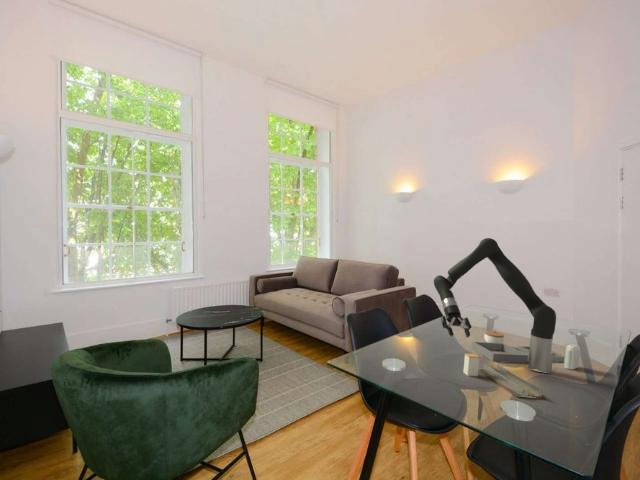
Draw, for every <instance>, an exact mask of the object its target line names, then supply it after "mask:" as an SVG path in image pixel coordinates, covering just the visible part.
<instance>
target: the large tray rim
mask: <svg viewBox="0 0 640 480" xmlns="http://www.w3.org/2000/svg"><path fill="white" fill-rule="evenodd" d="M471 349H472V350H473V351H475V352H477V353H479V354H481V355H482V356H484V357H486V358H487V359H489V360H490V361H492V362H500V361H506V362H505V363H520V362H528V360H529V356H528V355H526V354H524V353H522V352H520V351H519V349H515V348H514V347H512V346H510V345H507V344H505V343H504V342H503V343H488V342H486V341H472V342H471ZM493 351H501V352H502V351H503V352H504V353H499V352H498V353H497V352H493Z"/></svg>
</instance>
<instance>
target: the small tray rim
mask: <svg viewBox="0 0 640 480" xmlns="http://www.w3.org/2000/svg"><path fill="white" fill-rule="evenodd" d="M529 349H530V345H529V346H526V345H519V346H518V351H520V352H522V353H524V354H526V355H528V357H529ZM551 353H552V354H553V361H552V363H553V362H554V363H555V362H556V363H564V359H565V355H563V354H559V353H558V352H555V351H553V350H552V351H551Z"/></svg>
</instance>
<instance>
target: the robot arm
mask: <svg viewBox="0 0 640 480" xmlns="http://www.w3.org/2000/svg"><path fill="white" fill-rule="evenodd" d="M486 258H487V259H488V260H489V261H490V262H491V263H492V264H493V265H494V267H495V269H496V270H497V272H498V274H499V275H500V277H501V278H502V279H503V281H504V282H505V284H506V285H507V286H508V287H509V288H510V289H511V291H512V292H513V293H514V294H515V295H516V296H517V297H518V298H519V299H520V300H521V301H522V302H523V303H524V305H525V306H526V307H527V309H528V311H529V313H530V314H531V316H532V318H533V325H532V328H531V329H530V337H529V339H530V340H529V346H530V349H529V356H528V363H527V369H529V368H530V369H537V370H539V371H542V372H546V373H548V374H551V373H552V371H553V369H552V368H553V362H552V361H553V354H552V353H551V351H553V339H554V338H553V337H554V334H555V330H556V323H557V313H556V311H555V309H554V308H552V307H550V306H549V305H548V304H546V303H545V302H544V301H543V300H542V299H541V298H540V297H539V296H538V295H537V293H536V292H535V290H534V288H533V286H532V284H531V283H530V282H529V280H528V279H527V277H526V275H524V274H523V273H522V271H521V270H520V269H519V267H517V266H516V264H514V263H513V261H511V260H510V258H508V257H507V256H506V254H505V253H504V252H503V250H502V249H501V248H500V246H499V244H498V242H497V240H496V239H493V238H490V237H487V238H483V239H482V240H480V242H479V244H478V246H476V248H475V249H474V250H473V251H471V253H470V254H468V255H466V257H464V258H463V259H461V260H459V261H458V262H457V263H456V264H455V265H453V266H452V267H451V268H449V269H448V271H447V275H448V276H447V277H445V276H443V275H437V276H435V277H434V279H433V285H434V288H435V290H436V291H437V294H438V295H439V297H440V301H441V305H442V309H443V313H444V315H443V316H442V317H441V318H440V320H441V325H442V328H443V329H446V330H447V332H448V336H450V337H454V336H455V335H454V331H453V328H452V326H453V327H460V329H463V331H464V333H465V336H466V338H469V337H470V336H471V333H470V330H471V328H472V325H471V322H470V321H469V318H468V317H465V318H463V317H462V314H461V311H460V307H459V304H458V303H457V300H456V297H455V295H454V293H453V292H452V288H453V287H454V285H455V284H456V283H457V282H458V280H459V279H460V278H463V276H464V275H465V274H467V273H468V272H469V271H470V270H471V269H473V268H474V267H475V266H476V265H478V264H479V263H481V262H482V261H484V260H485V259H486ZM447 322H448V323H447ZM530 369H529V370H530Z"/></svg>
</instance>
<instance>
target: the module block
mask: <svg viewBox="0 0 640 480" xmlns="http://www.w3.org/2000/svg"><path fill="white" fill-rule="evenodd" d="M463 362H464V363H463V372H462V373H463V374H465V375H466V376H467V377H478V376H479V365H480V356H479V355H477V354H476V353H464V361H463Z"/></svg>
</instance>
